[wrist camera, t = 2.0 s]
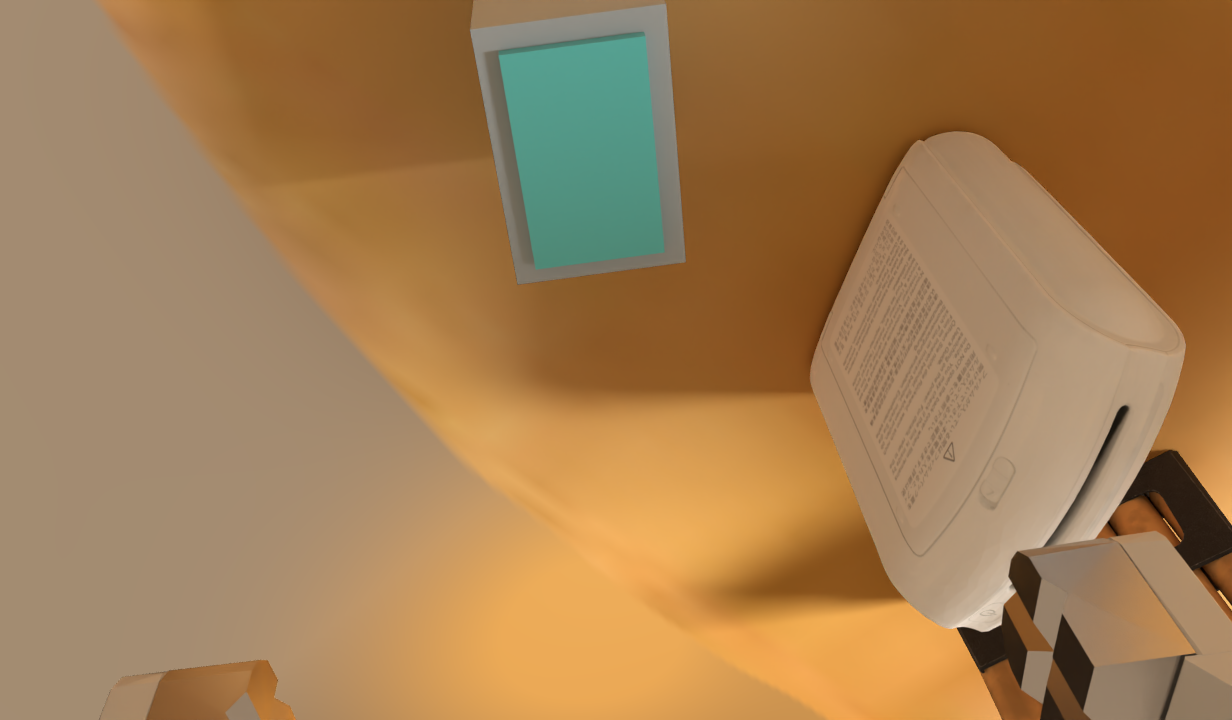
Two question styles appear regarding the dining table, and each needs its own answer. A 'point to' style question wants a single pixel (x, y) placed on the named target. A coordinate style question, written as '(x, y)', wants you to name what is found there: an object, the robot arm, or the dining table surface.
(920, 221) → the photo printer
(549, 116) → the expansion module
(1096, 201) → the dining table surface
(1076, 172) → the dining table surface
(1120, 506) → the ammunition clip
